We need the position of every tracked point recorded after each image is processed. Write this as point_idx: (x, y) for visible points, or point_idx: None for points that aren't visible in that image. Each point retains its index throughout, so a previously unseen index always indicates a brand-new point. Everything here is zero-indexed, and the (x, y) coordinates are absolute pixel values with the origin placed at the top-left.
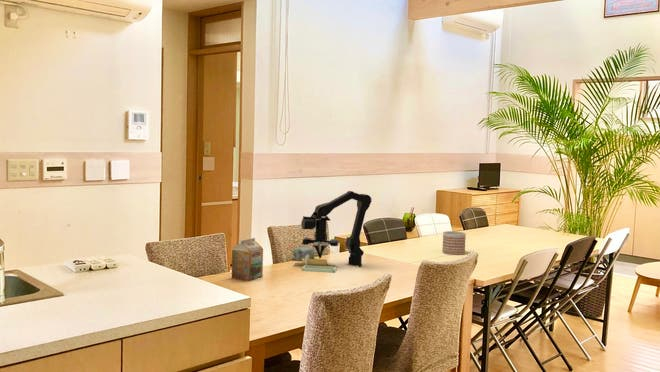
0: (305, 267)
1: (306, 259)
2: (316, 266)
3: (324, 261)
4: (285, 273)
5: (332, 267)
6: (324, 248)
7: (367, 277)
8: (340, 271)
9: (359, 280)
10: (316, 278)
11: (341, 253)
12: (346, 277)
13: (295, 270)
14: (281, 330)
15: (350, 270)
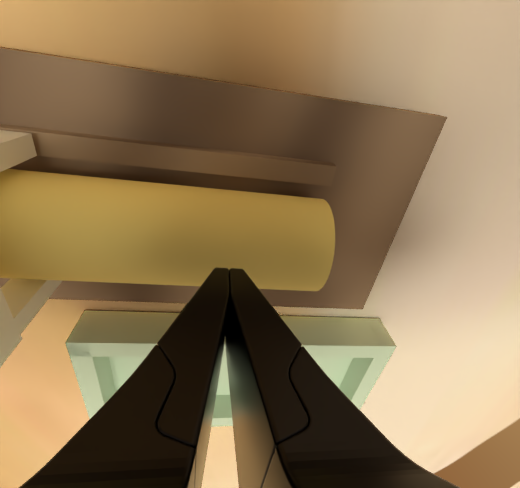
0: (102, 368)
1: (14, 325)
2: None
3: (292, 289)
4: (9, 437)
5: (355, 354)
6: (379, 451)
7: (512, 404)
8: (407, 322)
9: (441, 447)
10: (235, 465)
11: None
12: (397, 425)
13: (28, 364)
14: None
15: (505, 276)
